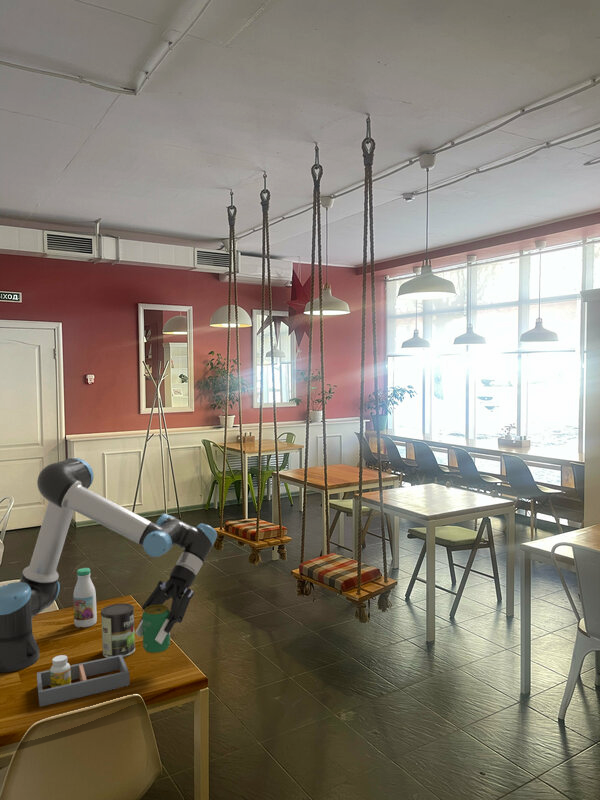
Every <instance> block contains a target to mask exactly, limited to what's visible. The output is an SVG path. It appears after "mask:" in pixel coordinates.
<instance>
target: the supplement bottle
mask: <svg viewBox="0 0 600 800" xmlns="http://www.w3.org/2000/svg"><path fill="white" fill-rule="evenodd" d="M51 660H52V665H51V666H50V669H49V670H50V676H51V685H50V688H54V687H58V686H62V685H67V684H71V683H72V680H71V670H70V666H71V665H70V663H69V662H68V661H69V660H68V656H67V655H66V654H63V655H62V654H60V655H56V656H54V657H53V658H52V659H51Z"/></svg>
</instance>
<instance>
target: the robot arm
mask: <svg viewBox="0 0 600 800" xmlns="http://www.w3.org/2000/svg"><path fill="white" fill-rule="evenodd" d="M94 477H95V474H94V470H93V468H92V467H91V465H90V464H89V462H87V461H86V460H84V459H82V458H78V457H73V458H70V457H69V458H65V459H64V460H61V461H58V462H53V463H50V464H48V465H46V466H45V467H44V468H42V469H41V471H40V472H39V474H38V476H37V479H36V480H37V481H36V482H37V485H36V486H37V489H38V491H39V493H40V494H41V496H42V497H43V498H44V499H45V500H46V501H48V503H47V506H46V510H45V512H44V515H43V516H44V517H43V519H42V522H41V526H40V530H39V533H38V535H37V539H36V543H35V546H34V549H33V554H32V557H31V560H30V563H29V565H28V566H26V567H25V568H24V569H23V570H22V573H21V576H20V578H19V579H20V580H19V582H17V581H16V582H9V583H8V584H7V585H6V584H4V585H1V586H0V673H10V672H16V671H20V670H22V669H25V668H27V667H29V666H32V665H34V664H35V663H36V662H37V661H38V660H39V659H40V648H39V645H38V644H37V641H36V638H35V636H34V634H33V633H34V632H33V618H35V617H36V616H37V615H38V614H40V613H41V612H42V611H44V610H45V609H47V608H49V607H50V606H51V605H52V604H53V603H54V602H55V601H56V599H57V598H58V596H59V593H60V589H61V588H60V587H61V586H60V585H61V584H60V582H59V581H58V580H59V577H60V575H59V572H58V571H57V569H58V568H57V567H58V565H59V563H60V562H59V561H60V558H61V554H62V552H63V548H64V545H65V541H66V538H67V534H68V531H69V528H70V524H71V522H72V519H73V516H74V512H76V513H78V514H80V515H82V516H84V517H86V518H88V519H90V520H91V521H94V522H96V523H97V524H100V525H102V526H103V527H105V528H107V529H108V530H109V529H110V530H111V531H113V532H116V533H117V534H118V535H121V536H123V537H124V538H127V539H129V540H131V541H133V542H135V543H136V544H138V545H141V546H142V547H143V550H144V552H145V553H146V554H147V555H148V556H150V557H153V558H158V557H161V556H163V555H165V554H167V553H168V552H169V550H171V548H173V547H174V546H177V547H179V548H182V549H183V551H182V553H181V554H180V556H179V558H178V560H177V561H176V565H174V567H173V568H172V570H171V571H170V574H169V578H168V580H166V581H165V582H164V581H162V580H159V581H158V582H157V585H156V587H155V588H154V590H153V591H152V593H151V594H150V595H149V597H147V600H146V601H145V602H144V604H142V606H141V609H142V610H143V611H144V610H145V608H146V607H148V606H151V605H158V604H159V605H164V603H165V602H166V601H168V600H170V599H172V601H171V606H170V607H171V608H170V610H169V611H170V616H169V618H168V619H169V620H168V619H166V620H165V622H164V624H163V625H162V627H161V629H160V631H159V633H158V635H157V636H156V638H155V640H156V641H157V642H158V643H160V644H162V642H163V641H164V639H165V637H166V635H167V633H169V632H170V633H171V630H172V629H173V627H174V625H175V624H176V623H179V624H180V623H182V621H183V619H184V617H185V614H186V613H187V609H188V607H189V605H190V601H191V599H192V598H193V596H194V595H195V592H194V591H193V590H192V589H191V588H189V587H191V586H193V585H192V584H193V583H194V581H195V579H196V577H197V576H196V575H198V573H199V572H200V570H201V568H202V566H203V564H204V563H205V560H206V559H207V557H208V555H209V554H210V552H211V550H212V548H213V547H214V544H215V542H216V539H217V538H218V533H217V531H216V529H215V528H214V527H212V526H211V525H209V524H205V523H199V524H198V525H197V526H192V525H190V524H188V523H186V522H184V521H183V520H181V519H178V518H176V517H175V516H173V515H170V514H167V513H163V514H161V515H160V516H159V518H158V519H157V521H156V522H155V523H154V522H152V521H150V520H149V519H147V518H145V517H143V516H141V515H139V514H137V513H135V512H134V511H131V510H130V509H127V508H126V507H124V506H123V505H120V504H117V503H115V502H114V501H112V500H109V499H108V498H106V497H104V496H102V495H101V494H98V493H96V492H94V491H92V490H90V489H89V488H90V487H91V485H92V484H93V481H94ZM134 634H135V635H137V636H138V637H140V638H143V616H142V617H141V619H140V620H139V625H138V626H137V628H136V630H134Z"/></svg>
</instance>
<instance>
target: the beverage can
mask: <svg viewBox="0 0 600 800" xmlns="http://www.w3.org/2000/svg"><path fill="white" fill-rule="evenodd" d="M170 611H171V610H169V608H168V606H167V605H165V604H162V605H159V604H158V605H151V606H148V607H146V608H145V610H143V613H142V617H143V635H142V647H143V649H144V651H145V652H146V653H148V654H160V653H163V652H166V651H167V650H168V649H169V648H170V645H171V631H170V632H169V633H167V635H166V637H165V639H164V641H163V642H162V644H160V643H158V642H157V641H156V640H155V638H156V636H157V635H158V633H159V631H160V629H161V627H162V625H163V624H164V622H165V620H166V619H168V618H169V616H170ZM168 620H169V619H168Z"/></svg>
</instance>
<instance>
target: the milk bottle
mask: <svg viewBox="0 0 600 800" xmlns="http://www.w3.org/2000/svg"><path fill="white" fill-rule="evenodd" d="M76 577H77V581H76V584H75V586H74V590H73V597H72V599H73V601H72V602H73V620H74V621H73V622H74V626H75V627H76V628H80V627H83V628H89V627H91V626H94V625H96V623H97V620H98V617H97V616H98V615H97V614H98V613H97V596H96V588H95V585H94V583H93V581H92V579H91V569H90V568H89V567H82V568H79V569H77V570H76Z"/></svg>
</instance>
